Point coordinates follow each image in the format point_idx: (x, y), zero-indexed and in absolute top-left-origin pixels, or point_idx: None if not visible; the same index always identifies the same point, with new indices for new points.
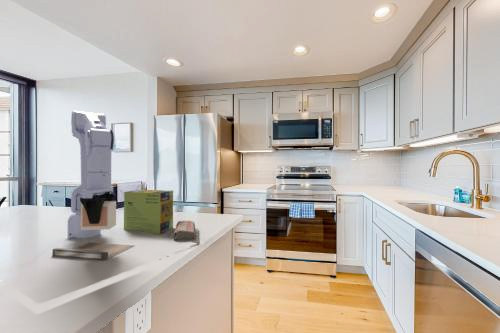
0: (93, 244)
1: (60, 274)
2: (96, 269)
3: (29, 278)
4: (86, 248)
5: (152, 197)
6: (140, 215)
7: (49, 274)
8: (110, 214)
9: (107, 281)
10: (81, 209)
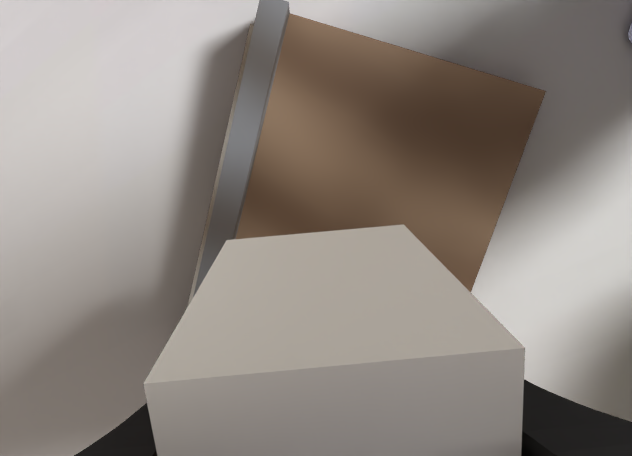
0: (485, 150)
1: (68, 200)
2: (136, 337)
3: (10, 73)
4: (399, 151)
5: None
6: None
7: (65, 144)
8: None
9: (14, 441)
10: (175, 340)
